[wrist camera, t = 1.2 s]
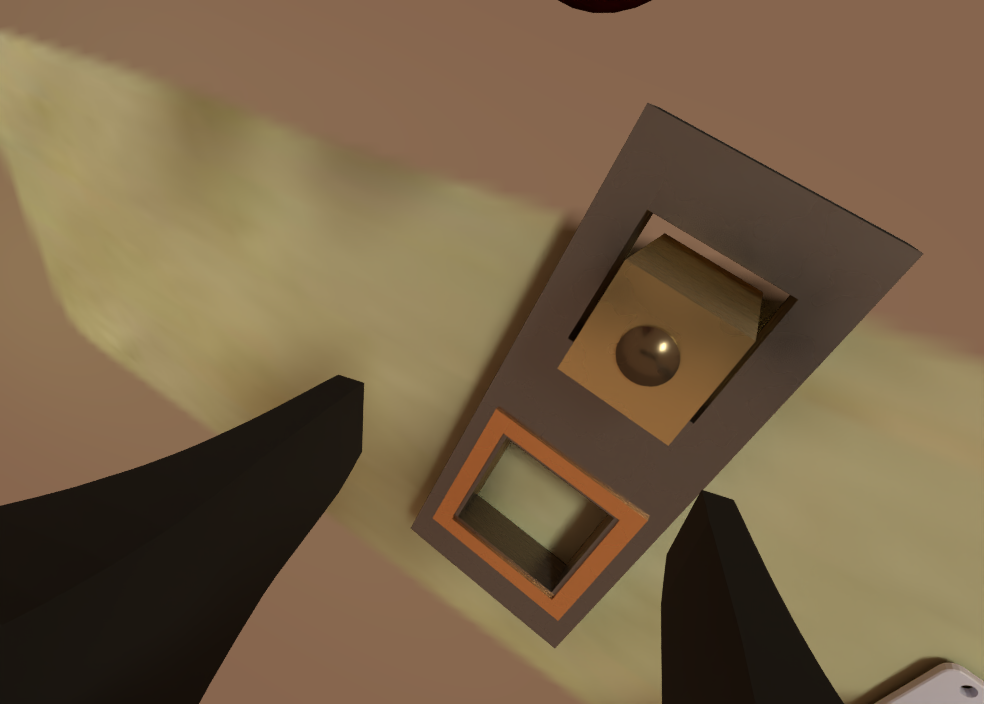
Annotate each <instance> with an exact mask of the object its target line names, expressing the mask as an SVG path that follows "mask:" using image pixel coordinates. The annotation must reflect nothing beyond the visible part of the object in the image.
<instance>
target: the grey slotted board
mask: <svg viewBox="0 0 984 704" xmlns="http://www.w3.org/2000/svg"><path fill="white" fill-rule="evenodd" d="M653 213H654V214H656V215H657V216H659V217H661V218H662V219H664V220H666V221H667V222H669V223H671V224H672V225H674V226H676V227H678V228H679V229H681V230H683V231H684V232H686V233H688V234H689V235H691V236H693V237H694V238H696V239H698V240H699V241H701V242H703V243H704V244H706V245H708V246H709V247H711V248H713V249H714V250H716V251H718V252H720V253H721V254H723V255H725V256H726V257H728V258H730V259H731V260H733V261H735V262H736V263H738V264H740V265H741V266H743V267H745V268H746V269H748V270H750V271H751V272H753V273H755V274H756V275H758V276H760V277H761V278H763V279H765V280H766V281H768V282H770V283H771V284H773V285H775V286H777V287H778V288H780V289H782V290H783V291H785V292H787V293H788V294H790V296H789V297H788V298H787V299H786V301H785V302H784V303H783V304H782V305H781V307H780V308H779V309H778V310H777V311H776V313H775V314H774V315H773V316H772V317H771V319H770V320H769V321H768V322H767V323H766V325H765V326H764V327H763V328H762V330H761V331H760V332H759V333H758V334H757V336H756V341H755V343H754V344H753V345H752V346H751V347H750V348H749V350H748V351H747V352H746V353H745V354H744V356H743V357H742V358H741V359H740V360H739V362H738V363H737V364H736V365H735V366H734V368H733V369H732V370H731V371H730V372H729V374H728V375H727V376H726V377H725V378H724V380H723V381H722V382H721V383H720V384H719V386H718V387H717V388H716V389H715V390H714V392H713V393H712V394H711V395H710V396H709V398H708V399H707V400H706V401H705V402H704V404H703V405H702V406H701V407H700V408H699V410H698V411H697V412H696V413H695V414H694V416H693V417H692V418H691V419H690V420H689V422H688V423H687V424H686V425H685V426H684V428H683V429H682V430H681V431H680V432H679V434H678V435H677V436H676V437H675V438H674V440H673V441H672V442H671V443H670V444H669V446H668V445H666V444H665V443H663V442H662V441H661V440H659V439H658V438H656V437H655V436H653V435H652V434H651V433H649V432H648V431H646V430H645V429H643V428H642V427H641V426H639V425H638V424H636V423H635V422H633V421H632V420H630V419H629V418H628V417H626V416H625V415H623V414H622V413H620V412H619V411H618V410H616V409H615V408H613V407H612V406H610V405H609V404H608V403H606V402H605V401H603V400H602V399H600V398H599V397H598V396H596V395H595V394H593V393H592V392H590V391H589V390H588V389H586V388H585V387H583V386H582V385H580V384H579V383H578V382H576V381H575V380H573V379H572V378H570V377H569V376H567V375H566V374H565V373H563V372H562V371H560V370H559V369H557V368H558V367H559V365H560V363H561V362H562V360H563V359H564V357H565V355H566V354H567V352H568V351H569V349H570V347H571V346H572V344H573V343H574V341H575V339H576V338H577V336H578V335H579V333H580V331H581V330H582V328H583V327H584V323H585V322H586V320H587V318H588V317H589V315H590V314H591V312H592V310H593V309H594V307H595V306H596V304H597V302H598V301H599V299H600V298H601V296H602V294H603V293H604V291H605V290H606V288H607V286H608V285H609V283H610V282H611V280H612V278H613V277H614V275H615V274H616V272H617V270H618V269H619V267H620V266H621V264H622V262H623V261H624V259H625V258H626V256H627V254H628V253H629V251H630V250H631V248H632V246H633V245H634V243H635V242H636V240H637V238H638V237H639V235H640V234H641V232H642V230H643V229H644V227H645V226H646V224H647V222H648V221H649V219H650V218H651V216H652V214H653ZM922 255H923V253H922V252H920V251H919V250H918V249H916V248H915V247H913V246H912V245H910V244H908V243H907V242H905V241H903V240H901V239H900V238H898V237H896V236H894V235H892V234H890V233H889V232H886V231H885V230H883V229H881V228H879V227H878V226H876V225H874V224H872V223H870V222H868V221H866V220H865V219H863V218H861V217H859V216H857V215H856V214H854V213H852V212H850V211H848V210H846V209H845V208H843V207H841V206H839V205H837V204H835V203H834V202H832V201H830V200H828V199H826V198H824V197H823V196H821V195H819V194H817V193H815V192H813V191H812V190H810V189H808V188H806V187H804V186H802V185H801V184H799V183H797V182H795V181H793V180H791V179H790V178H788V177H786V176H784V175H782V174H780V173H779V172H777V171H775V170H773V169H771V168H769V167H767V166H766V165H764V164H762V163H760V162H758V161H757V160H755V159H753V158H751V157H749V156H747V155H746V154H744V153H742V152H740V151H738V150H736V149H735V148H733V147H731V146H729V145H727V144H725V143H724V142H722V141H720V140H718V139H716V138H714V137H713V136H711V135H709V134H707V133H705V132H704V131H702V130H700V129H698V128H696V127H694V126H693V125H691V124H689V123H687V122H685V121H683V120H682V119H680V118H678V117H676V116H674V115H672V114H670V113H669V112H667V111H665V110H663V109H661V108H660V107H657V106H654V105H651V104H649V103H647V105H646V107H645V109H644V110H643V112H642V114H641V116H640V117H639V119H638V121H637V123H636V125H635V126H634V128H633V130H632V132H631V134H630V135H629V137H628V139H627V141H626V143H625V145H624V146H623V148H622V150H621V152H620V153H619V155H618V157H617V159H616V160H615V162H614V164H613V166H612V168H611V169H610V171H609V173H608V175H607V177H606V178H605V180H604V182H603V184H602V186H601V187H600V189H599V191H598V193H597V195H596V196H595V198H594V200H593V202H592V204H591V205H590V207H589V209H588V211H587V213H586V214H585V216H584V218H583V220H582V222H581V223H580V225H579V227H578V229H577V231H576V232H575V234H574V236H573V238H572V239H571V241H570V243H569V245H568V247H567V248H566V250H565V252H564V254H563V256H562V257H561V259H560V261H559V263H558V265H557V266H556V268H555V270H554V272H553V274H552V275H551V277H550V279H549V281H548V283H547V284H546V286H545V288H544V290H543V292H542V293H541V295H540V297H539V299H538V301H537V302H536V304H535V306H534V308H533V310H532V311H531V313H530V315H529V317H528V319H527V320H526V322H525V324H524V326H523V327H522V329H521V331H520V333H519V335H518V336H517V338H516V340H515V342H514V344H513V345H512V347H511V349H510V351H509V353H508V354H507V356H506V358H505V360H504V362H503V363H502V365H501V367H500V369H499V371H498V372H497V374H496V376H495V378H494V380H493V381H492V383H491V385H490V387H489V389H488V390H487V392H486V394H485V396H484V398H483V399H482V401H481V403H480V405H479V407H478V408H477V410H476V412H475V414H474V415H473V417H472V419H471V421H470V423H469V424H468V426H467V428H466V430H465V432H464V433H463V435H462V437H461V439H460V441H459V442H458V444H457V446H456V448H455V450H454V451H453V453H452V455H451V457H450V459H449V460H448V462H447V464H446V466H445V468H444V469H443V471H442V473H441V475H440V477H439V478H438V480H437V482H436V484H435V486H434V487H433V489H432V491H431V493H430V495H429V496H428V498H427V500H426V502H425V503H424V505H423V507H422V509H421V511H420V512H419V514H418V516H417V518H416V520H415V521H414V523H413V525H412V527H411V529H412V530H413V531H415V532H416V533H417V534H418V535H419V536H421V537H422V538H423V539H424V540H425V541H427V542H428V543H429V544H430V545H431V546H433V547H434V548H435V549H436V550H437V551H439V552H440V553H441V554H442V555H443V556H445V557H446V558H447V559H448V560H449V561H451V562H452V563H453V564H454V565H455V566H457V567H458V568H459V569H460V570H461V571H463V572H464V573H465V574H466V575H467V576H469V577H470V578H471V579H472V580H473V581H475V582H476V583H477V584H478V585H479V586H481V587H482V588H483V589H484V590H485V591H487V592H488V593H489V594H490V595H491V596H493V597H494V598H495V599H496V600H497V601H499V602H500V603H501V604H502V605H503V606H505V607H506V608H507V609H508V610H509V611H511V612H512V613H513V614H514V615H515V616H517V617H518V618H519V619H520V620H521V621H522V622H524V623H525V624H526V625H527V626H528V627H530V628H531V629H532V630H533V631H534V632H536V633H537V634H538V635H539V636H540V637H542V638H543V639H544V640H545V641H546V642H548V643H549V644H550V645H551V646H552V647H554V648H556V647H557V646H558V644H559V643H560V642H561V641H562V640H563V639H564V638H565V637H566V636H567V635H568V634H569V633H570V632H571V631H572V629H573V628H574V627H575V626H576V625H577V624H578V623H579V622H580V621H581V620H582V619H583V618H584V617H585V616H586V615H587V613H588V612H589V611H590V610H591V609H592V608H593V607H594V606H595V605H596V604H597V603H598V602H599V601H600V600H601V598H602V597H603V596H604V595H605V594H606V593H607V592H608V591H609V590H610V589H611V588H612V587H613V586H614V585H615V583H616V582H617V581H618V580H619V579H620V578H621V577H622V576H623V575H624V574H625V573H626V572H627V571H628V570H629V568H630V567H631V566H632V565H633V564H634V563H635V562H636V561H637V560H638V559H639V558H640V557H641V556H642V555H643V553H644V552H645V551H646V550H647V549H648V548H649V547H650V546H651V545H652V544H653V543H654V542H655V541H656V540H657V538H658V537H659V536H660V535H661V534H662V533H663V532H664V531H665V530H666V529H667V528H668V527H669V526H670V525H671V524H672V522H673V521H674V520H675V519H676V518H677V517H678V516H679V515H680V514H681V513H682V512H683V511H684V510H685V509H686V507H687V506H688V505H689V504H690V503H691V502H692V501H693V500H694V499H695V498H696V497H697V496H698V495H699V494H700V492H701V490H703V489H704V488H705V487H706V486H707V485H708V484H709V483H710V482H711V481H712V480H713V479H714V477H715V476H716V475H717V474H718V473H719V472H720V471H721V470H722V469H723V468H724V467H725V466H726V465H727V464H728V462H729V461H730V460H731V459H732V458H733V457H734V456H735V455H736V454H737V453H738V452H739V451H740V450H741V449H742V448H743V446H744V445H745V444H746V443H747V442H748V441H749V440H750V439H751V438H752V437H753V436H754V435H755V434H756V433H757V431H758V430H759V429H760V428H761V427H762V426H763V425H764V424H765V423H766V422H767V421H768V420H769V419H770V418H771V416H772V415H773V414H774V413H775V412H776V411H777V410H778V409H779V408H780V407H781V406H782V405H783V404H784V403H785V401H786V400H787V399H788V398H789V397H790V396H791V395H792V394H793V393H794V392H795V391H796V390H797V389H798V388H799V386H800V385H801V384H802V383H803V382H804V381H805V380H806V379H807V378H808V377H809V376H810V375H811V374H812V373H813V371H814V370H815V369H816V368H817V367H818V366H819V365H820V364H821V363H822V362H823V361H824V360H825V359H826V358H827V357H828V355H829V354H830V353H831V352H832V351H833V350H834V349H835V348H836V347H837V346H838V345H839V344H840V343H841V342H842V340H843V339H844V338H845V337H846V336H847V335H848V334H849V333H850V332H851V331H852V330H853V329H854V328H855V327H856V325H857V324H858V323H859V322H860V321H861V320H862V319H863V318H864V317H865V316H866V315H867V314H868V313H869V311H870V310H871V309H872V308H873V307H874V306H875V305H876V304H877V303H878V302H879V301H880V300H881V299H882V298H883V297H884V295H885V294H886V293H887V292H888V291H889V290H890V289H891V288H892V287H893V286H894V285H895V284H896V283H897V281H898V280H899V279H900V278H901V277H902V276H903V275H904V274H905V273H906V272H907V271H908V270H909V269H910V267H912V265H913V264H914V263H915V262H916V261H917V260H918V259H919V258H920V257H921V256H922ZM511 441H512V442H513V443H514V444H516V445H517V446H518V447H520V448H521V449H522V450H524V451H525V452H526V453H528V454H529V455H530V456H532V457H533V458H534V459H536V460H537V461H538V462H540V463H541V464H542V465H544V466H545V467H546V468H548V469H549V470H550V471H552V472H553V473H554V474H556V475H557V476H558V477H560V478H561V479H562V480H564V481H565V482H566V483H568V484H569V485H570V486H572V487H573V488H574V489H576V490H577V491H578V492H580V493H581V494H582V495H584V496H585V497H586V498H588V499H589V500H590V501H592V502H593V503H594V504H596V505H597V506H598V507H600V508H601V509H602V510H604V511H605V512H606V513H608V515H607V516H606V517H605V519H604V520H603V521H602V522H601V523H600V525H599V526H598V527H597V528H596V529H595V531H594V532H593V533H592V534H591V535H590V537H589V538H588V539H587V540H586V542H585V543H584V544H583V545H582V546H581V548H580V549H579V550H578V551H577V552H576V554H575V555H574V556H573V557H572V558H571V560H570V561H569V562H568V563H567V564H564V563H563V562H562V561H560V560H559V559H558V558H557V557H555V556H554V555H553V554H552V553H550V552H549V551H548V550H547V549H545V548H544V547H543V546H541V545H540V544H539V543H538V542H536V541H535V540H534V539H533V538H531V537H530V536H529V535H528V534H526V533H525V532H524V531H522V530H521V529H520V528H519V527H517V526H516V525H515V524H514V523H512V522H511V521H510V520H509V519H507V518H506V517H505V516H503V515H502V514H501V513H500V512H498V511H497V510H496V509H495V508H493V507H492V506H491V505H490V504H488V503H487V502H486V501H484V500H483V499H482V498H481V497H479V496H478V493H479V491H480V490H481V488H482V487H483V485H484V483H485V482H486V480H487V479H488V477H489V475H490V474H491V472H492V471H493V469H494V467H495V466H496V464H497V463H498V461H499V459H500V458H501V456H502V455H503V453H504V451H505V450H506V448H507V447H508V445H509V443H510V442H511Z"/></svg>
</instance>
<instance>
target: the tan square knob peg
mask: <svg viewBox="0 0 984 704" xmlns="http://www.w3.org/2000/svg"><path fill="white" fill-rule="evenodd" d="M762 296H763V292H761V291H760V290H758V289H756V288H755V287H753V286H751V285H750V284H748V283H746V282H745V281H743V280H742V279H740V278H738V277H737V276H735V275H733V274H732V273H730V272H728V271H727V270H725V269H723V268H722V267H720V266H718V265H717V264H715V263H713V262H712V261H710V260H708V259H707V258H705V257H703V256H702V255H700V254H698V253H697V252H695V251H693V250H692V249H690V248H688V247H687V246H685V245H684V244H682V243H680V242H679V241H677V240H675V239H674V238H672V237H670V236H668V235H667V234H663V235H662V236H660V237H659V238H657V239H656V240H654V241H653V242H651V243H650V244H648V245H647V246H645V247H644V248H642V249H641V250H639V251H638V252H636V253H635V254H633V255H632V256H630V257H629V258H627V259H626V260H625V261H624V263H623V264H622V266H621V268H620V269H619V271H618V272H617V274H616V276H615V277H614V279H613V280H612V282H611V283H610V285H609V287H608V288H607V290H606V291H605V293H604V295H603V296H602V298H601V299H600V301H599V303H598V304H597V306H596V307H595V309H594V311H593V312H592V314H591V315H590V317H589V319H588V320H587V322H586V323H585V325H584V327H583V328H582V330H581V331H580V333H579V335H578V336H577V338H576V339H575V341H574V343H573V344H572V346H571V347H570V349H569V351H568V352H567V354H566V355H565V357H564V359H563V360H562V362H561V363H560V365H559V367H558V368H557V369H559V370H560V371H562V372H563V373H565V374H566V375H567V376H569V377H570V378H572V379H573V380H575V381H576V382H578V383H579V384H580V385H582V386H583V387H585V388H586V389H588V390H589V391H590V392H592V393H593V394H595V395H596V396H598V397H599V398H600V399H602V400H603V401H605V402H606V403H608V404H609V405H610V406H612V407H613V408H615V409H616V410H618V411H619V412H620V413H622V414H623V415H625V416H626V417H628V418H629V419H630V420H632V421H633V422H635V423H636V424H638V425H639V426H641V427H642V428H643V429H645V430H646V431H648V432H649V433H651V434H652V435H653V436H655V437H656V438H658V439H659V440H661V441H662V442H663V443H665V444H666V445H668V446H669V444H670V443H671V442H672V441H673V440H674V438H675V437H676V436H677V435H678V434H679V432H680V431H681V430H682V429H683V428H684V426H685V425H686V424H687V423H688V422H689V420H690V419H691V418H692V417H693V416H694V414H695V413H696V412H697V411H698V410H699V408H700V407H701V406H702V405H703V404H704V402H705V401H706V400H707V399H708V398H709V396H710V395H711V394H712V393H713V392H714V390H715V389H716V388H717V387H718V386H719V384H720V383H721V382H722V381H723V380H724V378H725V377H726V376H727V375H728V374H729V372H730V371H731V370H732V369H733V368H734V366H735V365H736V364H737V363H738V362H739V360H740V359H741V358H742V357H743V356H744V354H745V353H746V352H747V351H748V350H749V348H750V347H751V346H752V345H753V344H754V343H755V341H756V336H757V329H758V323H759V316H760V309H761V302H762Z"/></svg>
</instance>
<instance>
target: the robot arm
mask: <svg viewBox="0 0 984 704" xmlns="http://www.w3.org/2000/svg"><path fill="white" fill-rule="evenodd" d="M363 400H364V383H363V382H360V381H356V380H353V379H350V378H347V377H344V376H341V375H337V376H335V377H333V378H331V379H329V380H327V381H325V382H323V383H321V384H320V385H318V386H316V387H314V388H312V389H310V390H308V391H306V392H304V393H303V394H301V395H299V396H297V397H295V398H293V399H291V400H289V401H287V402H286V403H284V404H282V405H280V406H278V407H276V408H274V409H272V410H270V411H268V412H266V413H264V414H262V415H260V416H258V417H256V418H254V419H252V420H250V421H248V422H246V423H244V424H242V425H239V426H237V427H235V428H233V429H231V430H229V431H226V432H224V433H222V434H220V435H218V436H216V437H213V438H211V439H209V440H207V441H205V442H202V443H200V444H198V445H196V446H193V447H191V448H188V449H186V450H183V451H181V452H178V453H176V454H173V455H170V456H168V457H165V458H162V459H159V460H157V461H154V462H151V463H149V464H146V465H144V466H140V467H137V468H134V469H131V470H128V471H125V472H122V473H119V474H116V475H112V476H109V477H106V478H102V479H99V480H96V481H93V482H90V483H86V484H83V485H80V486H77V487H73V488H70V489H66V490H62V491H58V492H55V493H51V494H47V495H43V496H39V497H35V498H32V499H27V500H23V501H19V502H14V503H10V504H6V505H2V506H0V704H199V703H200V701H201V699H202V697H203V695H204V694H205V692H206V690H207V688H208V686H209V684H210V683H211V681H212V679H213V678H214V676H215V674H216V672H217V670H218V669H219V667H220V666H221V664H222V662H223V661H224V659H225V657H226V655H227V654H228V652H229V650H230V648H231V647H232V645H233V643H234V642H235V640H236V638H237V637H238V635H239V633H240V632H241V630H242V628H243V627H244V625H245V624H246V622H247V620H248V619H249V617H250V615H251V614H252V612H253V610H254V609H255V607H256V606H257V604H258V602H259V601H260V599H261V597H262V596H263V594H264V593H265V591H266V590H267V588H268V587H269V586H270V584H271V583H272V581H273V580H274V578H275V577H276V575H277V574H278V573H279V571H280V570H281V569H282V567H283V566H284V565H285V563H286V562H287V561H288V559H289V558H290V557H291V555H292V554H293V553H294V551H295V550H296V549H297V547H298V546H299V545H300V544H301V542H302V541H303V540H304V538H305V537H306V535H307V534H308V533H309V532H310V530H311V529H312V528H313V526H314V525H315V524H316V522H317V521H318V520H319V518H320V517H321V516H322V514H323V513H324V512H325V510H326V509H327V507H328V506H329V505H330V503H331V502H332V501H333V499H334V498H335V497H336V495H337V494H338V492H339V491H340V489H341V488H342V486H343V484H344V483H345V481H346V479H347V478H348V476H349V474H350V472H351V471H352V469H353V467H354V465H355V463H356V461H357V460H358V458H359V456H360V454H361V452H362V433H363ZM661 654H662V704H844V703H843V701H842V700H841V698H840V697H839V696H838V694H837V693H836V691H835V689H834V688H833V686H832V685H831V683H830V682H829V680H828V678H827V677H826V675H825V674H824V672H823V670H822V669H821V667H820V665H819V664H818V662H817V660H816V659H815V657H814V655H813V653H812V652H811V650H810V648H809V647H808V645H807V643H806V642H805V640H804V638H803V636H802V635H801V633H800V631H799V629H798V627H797V626H796V624H795V622H794V620H793V618H792V617H791V615H790V613H789V611H788V609H787V607H786V605H785V603H784V601H783V600H782V598H781V596H780V594H779V592H778V590H777V588H776V586H775V584H774V582H773V580H772V578H771V576H770V574H769V572H768V570H767V568H766V566H765V564H764V562H763V560H762V558H761V556H760V554H759V552H758V550H757V548H756V546H755V544H754V542H753V540H752V537H751V535H750V533H749V531H748V529H747V527H746V525H745V523H744V520H743V518H742V516H741V514H740V512H739V510H738V508H737V506H736V504H735V502H734V500H732V499H729V498H726V497H723V496H719V495H716V494H713V493H710V492H707V491H704V490H701V492H700V494H699V496H698V497H697V499H696V501H695V503H694V505H693V507H692V509H691V510H690V512H689V514H688V516H687V518H686V520H685V522H684V523H683V525H682V527H681V529H680V531H679V533H678V535H677V536H676V538H675V540H674V542H673V544H672V546H671V548H670V549H669V551H668V553H667V557H666V565H665V573H664V581H663V591H662V601H661ZM964 685H968V686H972V687H973V688H969V689H968V688H963V687H961V686H964ZM874 704H984V681H983V680H981V679H980V678H978V677H977V676H975V675H974V674H973V673H971V672H970V671H968V670H967V669H966V668H964V667H962V666H960V665H958V664H955V663H942V664H939V665H938V666H936V667H934V668H933V669H931V670H929V671H928V672H926V673H924V674H923V675H921V676H919V677H918V678H916V679H914V680H913V681H911V682H909V683H908V684H906V685H904V686H903V687H901V688H899V689H898V690H896V691H894V692H893V693H891V694H889V695H888V696H886V697H884V698H883V699H881V700H879V701H878V702H876V703H874Z"/></svg>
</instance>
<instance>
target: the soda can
mask: <svg viewBox="0 0 984 704" xmlns="http://www.w3.org/2000/svg"><path fill="white" fill-rule="evenodd" d="M559 1H560V2H562V3H564V4H566V5H568V6H570V7H572V8H575V9H579V10H583V11H587V12H592V13H615V12H619V11H623V10H628V9H632V8H636V7H638V6H640V5H643V4H645V3H647V2H649V1H651V0H559Z"/></svg>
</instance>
